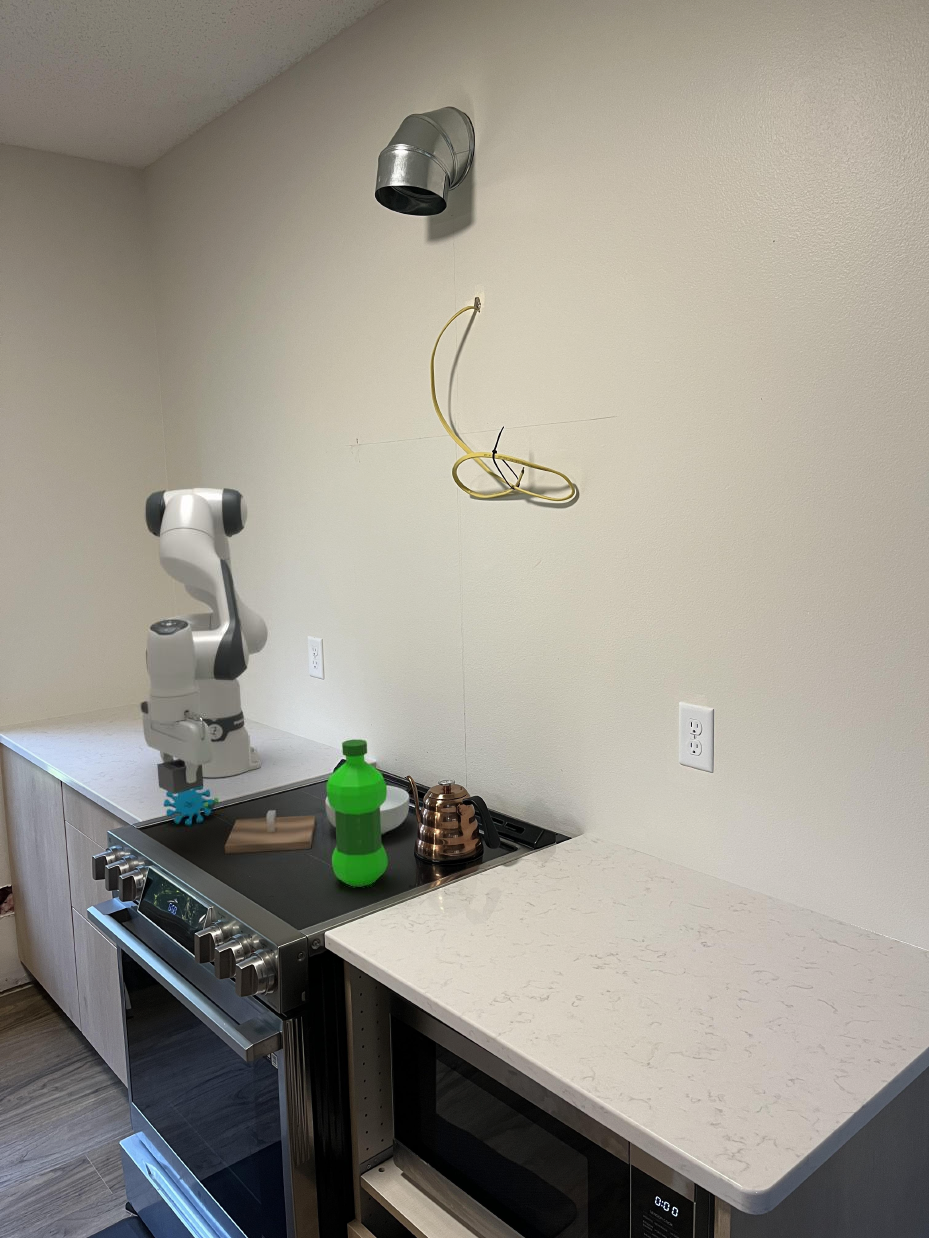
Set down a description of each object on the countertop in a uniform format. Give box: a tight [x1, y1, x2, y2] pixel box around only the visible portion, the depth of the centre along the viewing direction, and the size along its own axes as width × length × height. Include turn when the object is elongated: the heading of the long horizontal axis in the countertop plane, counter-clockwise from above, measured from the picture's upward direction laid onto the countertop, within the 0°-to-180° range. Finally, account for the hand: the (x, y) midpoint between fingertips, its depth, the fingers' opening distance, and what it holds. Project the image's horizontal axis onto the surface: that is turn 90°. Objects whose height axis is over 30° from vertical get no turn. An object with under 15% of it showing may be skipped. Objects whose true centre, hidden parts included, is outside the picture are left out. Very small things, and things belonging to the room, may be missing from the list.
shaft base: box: [224, 815, 317, 854], centre depth 182 cm, size 14×16×2 cm
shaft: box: [266, 809, 277, 833], centre depth 182 cm, size 3×1×4 cm, turn 5°
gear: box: [163, 785, 220, 827], centre depth 194 cm, size 11×6×10 cm
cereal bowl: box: [325, 784, 410, 836], centre depth 184 cm, size 17×17×7 cm
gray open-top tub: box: [156, 758, 204, 795], centre depth 175 cm, size 6×6×5 cm
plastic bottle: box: [325, 739, 388, 887], centre depth 159 cm, size 10×10×25 cm
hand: (180, 777), depth 175 cm, fingers closed on gray open-top tub, 6 cm apart
